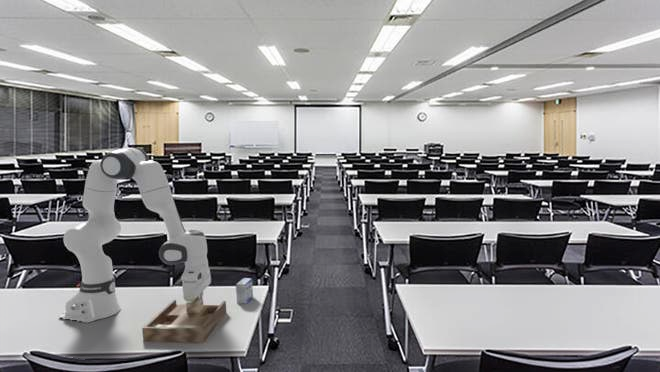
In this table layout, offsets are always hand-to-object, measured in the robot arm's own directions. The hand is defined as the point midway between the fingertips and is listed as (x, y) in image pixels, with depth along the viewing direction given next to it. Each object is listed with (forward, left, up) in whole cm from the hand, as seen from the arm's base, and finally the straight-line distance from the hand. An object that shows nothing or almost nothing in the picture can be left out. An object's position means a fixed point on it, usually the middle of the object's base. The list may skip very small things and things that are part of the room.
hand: (199, 302), depth 179 cm
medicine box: (+15, +13, -4) cm, 21 cm away
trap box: (0, -12, -4) cm, 12 cm away
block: (0, -5, -1) cm, 5 cm away
